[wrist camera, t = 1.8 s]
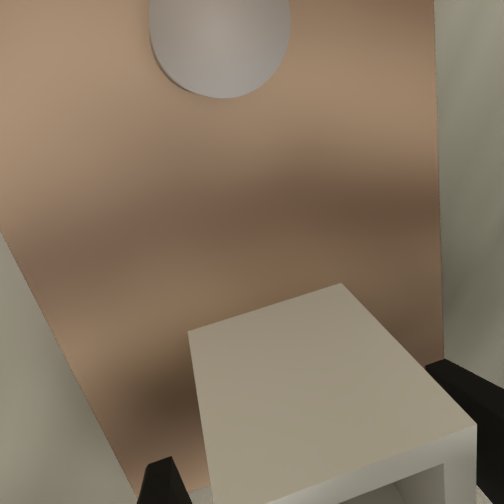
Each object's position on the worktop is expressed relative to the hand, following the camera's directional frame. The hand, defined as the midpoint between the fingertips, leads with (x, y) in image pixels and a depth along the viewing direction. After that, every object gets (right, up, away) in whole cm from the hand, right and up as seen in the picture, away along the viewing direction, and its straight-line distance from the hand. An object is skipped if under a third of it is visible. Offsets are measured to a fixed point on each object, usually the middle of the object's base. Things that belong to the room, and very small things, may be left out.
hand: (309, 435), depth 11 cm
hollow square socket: (-1, +1, +3) cm, 3 cm away
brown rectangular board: (-2, +6, +2) cm, 6 cm away
